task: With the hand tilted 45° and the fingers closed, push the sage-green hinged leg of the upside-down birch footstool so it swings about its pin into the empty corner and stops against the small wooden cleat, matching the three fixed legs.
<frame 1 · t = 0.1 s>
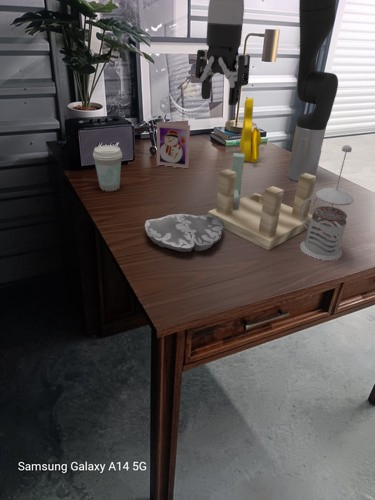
hand: (218, 101, 91), 29 cm above the table, tool pointing down, fingers open, 8 cm apart
greeting card: (174, 165, 140), on the table
stool seat: (260, 222, 103), on the table
hinged leg: (233, 216, 106), resting on stool seat, hinge at 40.0°
french press: (316, 249, 93), on the table
brain slice: (186, 240, 94), on the table
coffee cup: (109, 188, 119), on the table
figure statuette: (248, 160, 147), on the table
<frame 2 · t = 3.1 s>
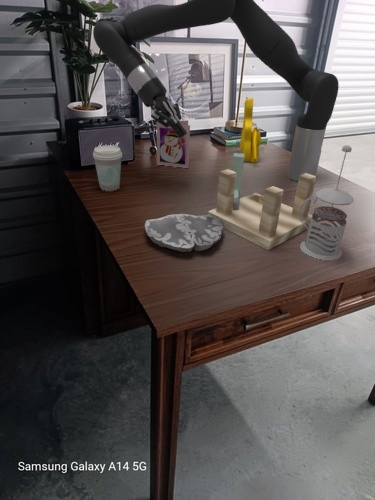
hand: (183, 135, 112), 16 cm above the table, tool tilted 45°, fingers closed
nothing on the table moved.
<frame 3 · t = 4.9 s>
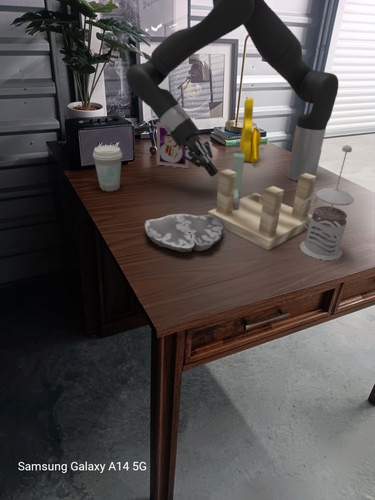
hand: (215, 174, 113), 7 cm above the table, tool tilted 45°, fingers closed
nothing on the table moved.
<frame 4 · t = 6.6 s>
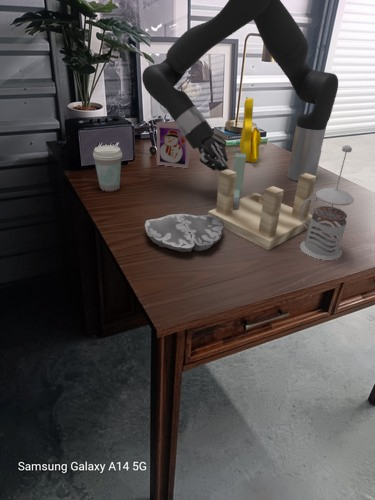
hand: (230, 178, 111), 7 cm above the table, tool tilted 45°, fingers closed
hinged leg: (233, 216, 106), resting on stool seat, hinge at 37.2°, touching gripper
everything else where it was.
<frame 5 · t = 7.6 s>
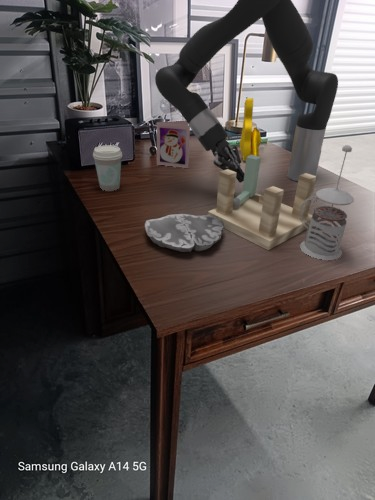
hand: (243, 180, 110), 7 cm above the table, tool tilted 45°, fingers closed
hinged leg: (233, 216, 106), resting on stool seat, hinge at 16.3°, touching gripper
everything else where it was.
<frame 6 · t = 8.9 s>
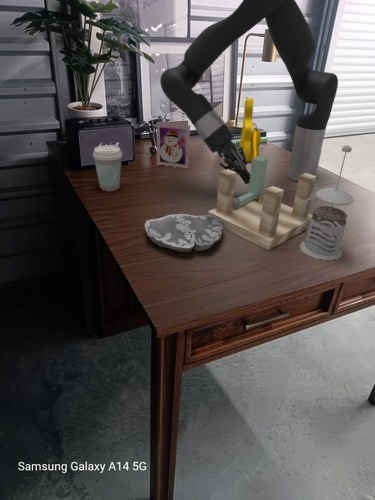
hand: (249, 181, 110), 7 cm above the table, tool tilted 45°, fingers closed
hinged leg: (233, 216, 106), resting on stool seat, hinge at 5.0°, touching gripper
everything else where it was.
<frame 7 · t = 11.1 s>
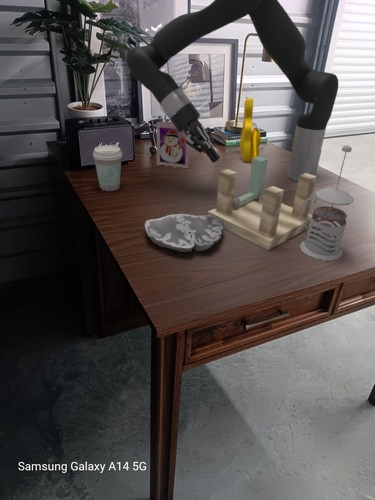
hand: (216, 160, 111), 11 cm above the table, tool tilted 45°, fingers closed
hinged leg: (233, 216, 106), resting on stool seat, hinge at 4.8°
everything else where it was.
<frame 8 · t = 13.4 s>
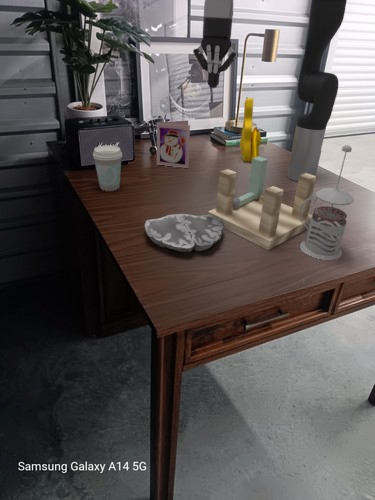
hand: (213, 87, 110), 29 cm above the table, tool pointing down, fingers closed
nothing on the table moved.
at the end: hinged leg at +5° (first picture: +40°) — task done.
